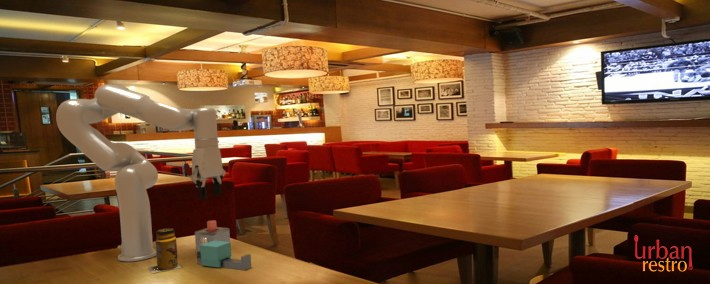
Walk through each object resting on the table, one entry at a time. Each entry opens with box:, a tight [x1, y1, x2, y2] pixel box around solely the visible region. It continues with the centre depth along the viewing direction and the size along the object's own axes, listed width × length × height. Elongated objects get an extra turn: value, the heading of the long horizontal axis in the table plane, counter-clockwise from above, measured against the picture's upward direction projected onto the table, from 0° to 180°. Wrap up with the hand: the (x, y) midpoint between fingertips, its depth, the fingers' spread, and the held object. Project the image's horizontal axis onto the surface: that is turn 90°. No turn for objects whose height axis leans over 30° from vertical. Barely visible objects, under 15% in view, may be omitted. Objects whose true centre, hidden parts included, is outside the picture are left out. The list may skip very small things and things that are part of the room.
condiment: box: [148, 227, 182, 274], centre depth 150 cm, size 7×8×12 cm
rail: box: [196, 251, 252, 271], centre depth 150 cm, size 19×3×4 cm, turn 62°
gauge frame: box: [194, 226, 231, 256], centre depth 165 cm, size 8×8×8 cm
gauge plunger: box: [206, 219, 218, 232], centre depth 165 cm, size 3×3×5 cm
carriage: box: [200, 241, 232, 268], centre depth 151 cm, size 7×6×6 cm
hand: (209, 196), depth 164 cm, fingers open, 5 cm apart
